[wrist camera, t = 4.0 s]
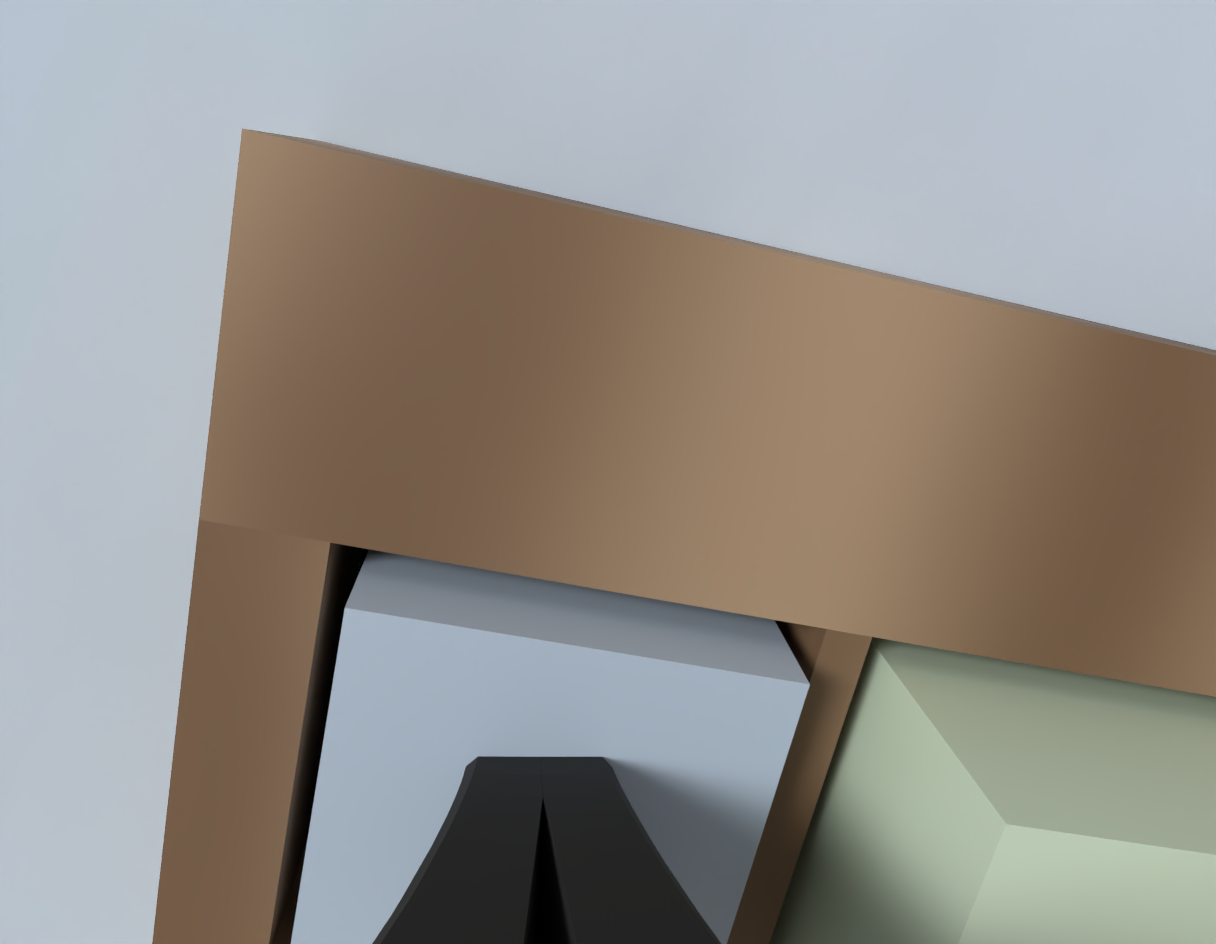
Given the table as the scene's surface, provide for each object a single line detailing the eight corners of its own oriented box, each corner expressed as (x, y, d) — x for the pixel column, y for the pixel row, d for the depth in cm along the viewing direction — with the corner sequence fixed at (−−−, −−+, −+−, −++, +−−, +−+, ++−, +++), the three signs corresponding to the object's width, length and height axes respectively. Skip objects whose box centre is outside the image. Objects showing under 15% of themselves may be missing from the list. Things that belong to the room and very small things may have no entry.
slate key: (735, 549, 12) (809, 685, 9) (654, 837, 14) (694, 1045, 10) (395, 487, 12) (344, 606, 8) (342, 793, 13) (281, 1002, 10)
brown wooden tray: (1648, 451, 13) (1954, 527, 10) (1289, 1094, 17) (1447, 1286, 14) (317, 140, 11) (241, 128, 8) (207, 978, 14) (125, 1185, 11)
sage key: (1204, 687, 11) (1474, 892, 8) (1070, 982, 13) (1259, 1262, 9) (861, 628, 11) (1006, 823, 7) (756, 945, 12) (842, 1230, 9)
